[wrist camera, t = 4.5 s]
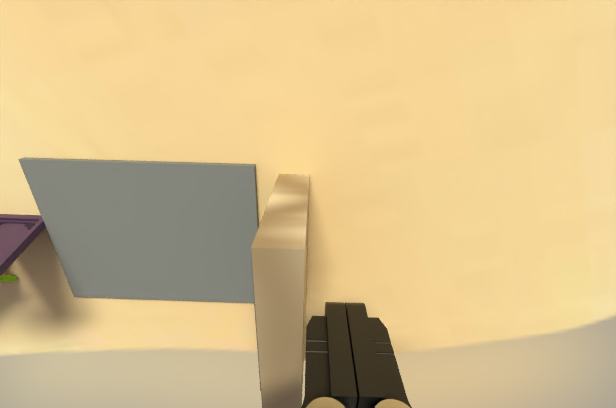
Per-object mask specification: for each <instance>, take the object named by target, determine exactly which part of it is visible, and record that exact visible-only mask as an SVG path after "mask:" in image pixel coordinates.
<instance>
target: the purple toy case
mask: <svg viewBox="0 0 616 408" xmlns="http://www.w3.org/2000/svg"><path fill="white" fill-rule="evenodd" d="M45 227H46V226H45V223H44V221H43V218H42V216H38V215H10V214H0V282H1V283H6V282H14V281H16V279H17V277H16V276H15V275H5V274H4V275H2V274H3V272H4V271H5V270H6V269H7V268H8V267H9V266H10V265H11V264H12V263H13V262H14V261H15V259H16V258H17V257H18V256H19V255H20V254H21V253H22V252H23V251H24V250H25V249H26V248H27V246H28V245H29V244H30V243H31V242H32V241H33V240H34V239H35V238H36V237H37V236H38V235H39V233H40V232H41V231H42V230H43V229H44V228H45Z"/></svg>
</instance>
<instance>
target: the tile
mask: <svg viewBox="0 0 616 408" xmlns="http://www.w3.org/2000/svg"><path fill="white" fill-rule="evenodd" d="M309 180H310V175H297V174H279V175H278V178H277V180H276V183H275V186H274V188H273V191H272V194H271V196H270V199H269V202H268V204H267V207H266V210H265V212H264V215H263V217H262V220H261V223H260V225H259V228H258V231H257V233H256V236H255V239H254V241H253V244H252V247H251V265H252V279H253V292H254V306H255V320H256V334H257V348H258V362H259V375H260V390H261V395H262V408H301V405H302V384H303V383H302V382H303V362H304V339H305V317H306V295H307V257H308V219H309Z"/></svg>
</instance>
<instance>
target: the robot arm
mask: <svg viewBox="0 0 616 408" xmlns="http://www.w3.org/2000/svg"><path fill="white" fill-rule="evenodd" d="M301 408H412V407H411V406H410V404H409V402H408V399H407V396H406V393H405V390H404V386H403V383H402V379H401V376H400V373H399V369H398V365H397V362H396V358H395V356H394V351H393V348H392V345H391V341H390V338H389V334H388V331H387V328H386V327H385V326H384V325H383V323H382V322H381V321H380V319H379V318H368V316H367V312H366V308H365V304H364V303H345V304H344V303H337V302H326V304H325V316H312V318H311V320H310V321H309V323H308V325H307V333H306V370H305V397H304V402H303V405H302V407H301Z"/></svg>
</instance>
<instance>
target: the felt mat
mask: <svg viewBox="0 0 616 408" xmlns="http://www.w3.org/2000/svg"><path fill="white" fill-rule="evenodd" d="M19 162H20V164H21V167H22V169H23V172H24V174H25V177H26V179H27V181H28V184H29V186H30V189H31V191H32V194H33V196H34V199H35V201H36V204H37V206H38V209H39V211H40V214H41V216H42V218H43V221H44V223H45V226H46V228H47V231H48V233H49V236H50V238H51V241H52V243H53V246H54V248H55V251H56V253H57V256H58V258H59V260H60V263H61V265H62V268H63V270H64V273H65V275H66V278H67V280H68V283H69V285H70V288H71V290H72V293H73V295H74V297H91V298H120V299H149V300H178V301H208V302H237V303H254V292H253V279H252V265H251V247H252V244H253V241H254V239H255V236H256V233H257V231H258V228H259V223H258V205H257V187H256V169H255V164H227V163H192V162H157V161H122V160H87V159H52V158H21V159H19Z"/></svg>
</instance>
